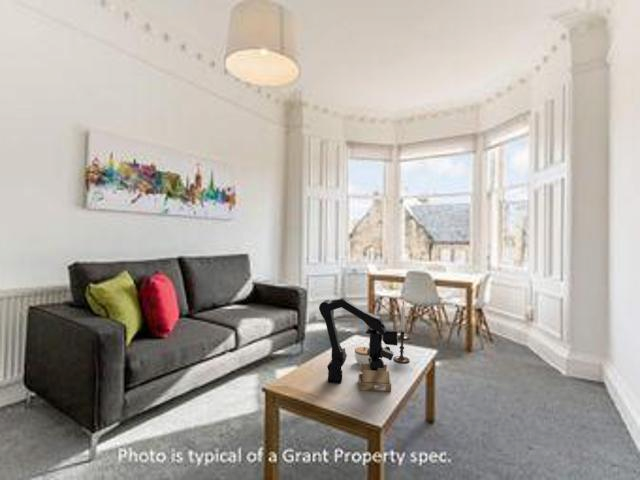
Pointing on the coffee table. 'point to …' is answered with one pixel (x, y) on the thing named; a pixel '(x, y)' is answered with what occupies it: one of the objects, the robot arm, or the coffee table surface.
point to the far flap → (367, 367)
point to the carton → (373, 385)
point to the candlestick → (402, 337)
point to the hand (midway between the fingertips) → (374, 375)
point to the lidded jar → (361, 355)
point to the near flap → (375, 376)
